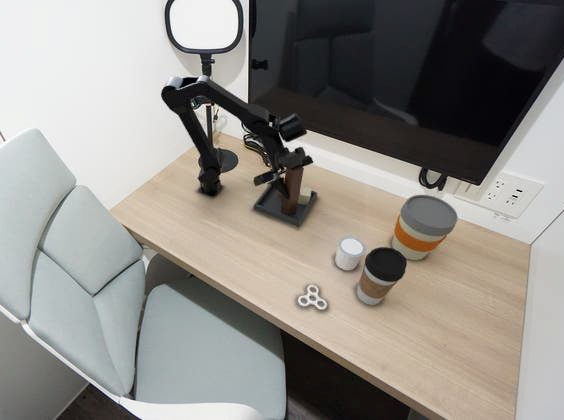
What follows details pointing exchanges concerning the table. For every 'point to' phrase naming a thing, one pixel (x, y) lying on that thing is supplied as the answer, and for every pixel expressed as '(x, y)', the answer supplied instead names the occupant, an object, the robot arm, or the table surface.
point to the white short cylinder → (349, 252)
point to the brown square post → (292, 190)
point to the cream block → (304, 196)
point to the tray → (272, 206)
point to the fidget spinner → (311, 300)
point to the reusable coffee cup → (422, 225)
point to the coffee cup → (380, 274)
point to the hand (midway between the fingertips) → (293, 197)
